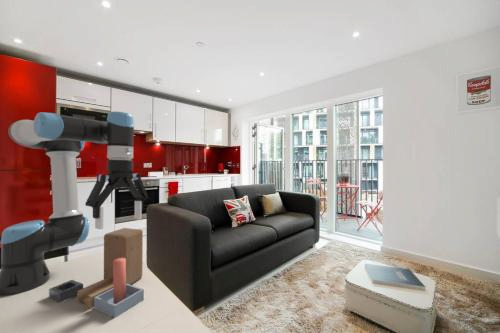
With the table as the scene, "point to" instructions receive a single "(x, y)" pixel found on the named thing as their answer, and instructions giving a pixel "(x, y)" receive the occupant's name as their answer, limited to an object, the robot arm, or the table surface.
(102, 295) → the tray
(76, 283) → the socket
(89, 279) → the table surface
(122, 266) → the dowel
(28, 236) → the robot arm
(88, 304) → the cardboard box
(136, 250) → the wooden block
